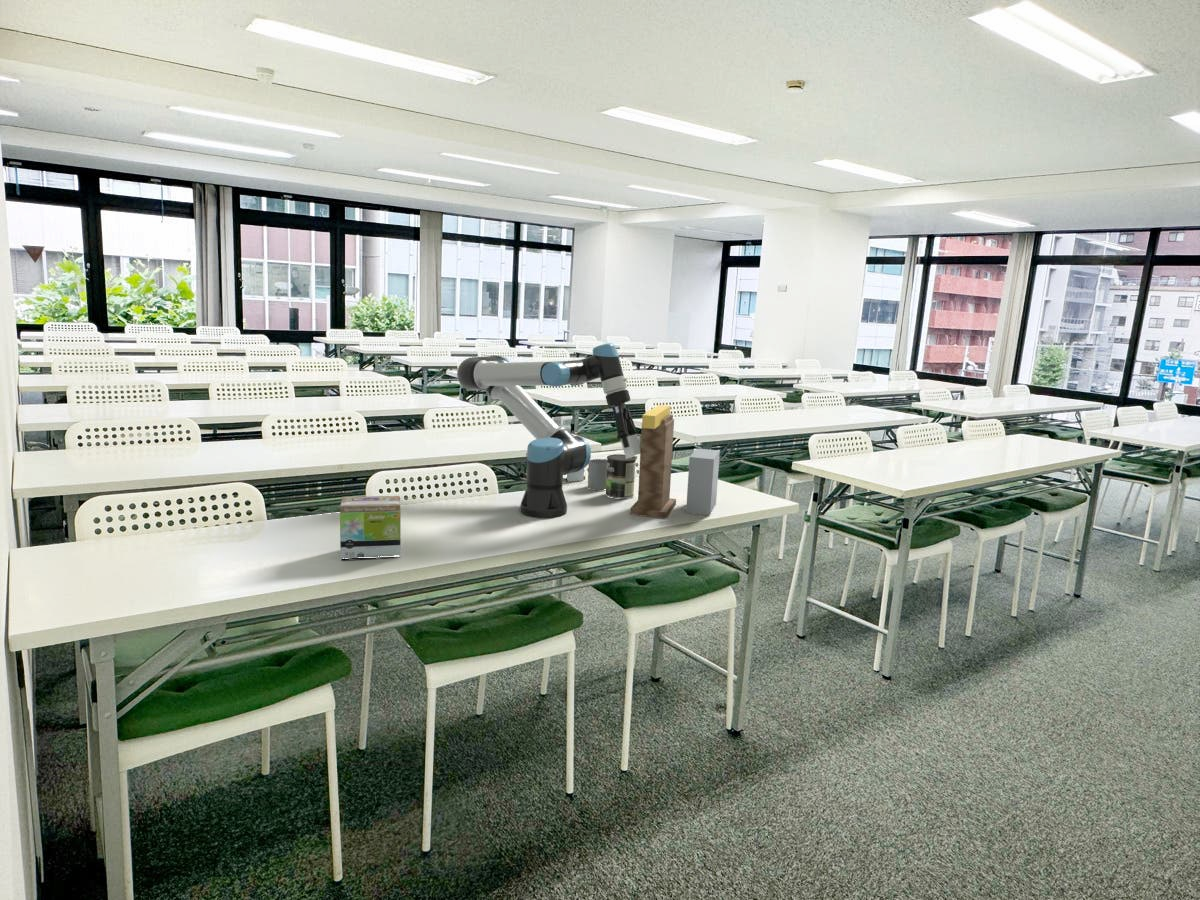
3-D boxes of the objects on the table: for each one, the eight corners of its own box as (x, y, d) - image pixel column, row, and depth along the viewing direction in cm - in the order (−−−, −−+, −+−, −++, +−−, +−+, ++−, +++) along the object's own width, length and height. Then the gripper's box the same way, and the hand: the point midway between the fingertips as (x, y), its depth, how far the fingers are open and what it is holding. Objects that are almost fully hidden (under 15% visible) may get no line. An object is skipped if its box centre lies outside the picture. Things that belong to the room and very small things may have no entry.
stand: (629, 514, 243) (634, 418, 236) (641, 500, 260) (646, 411, 253) (666, 518, 239) (671, 421, 233) (675, 504, 256) (681, 414, 250)
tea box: (340, 562, 189) (338, 506, 186) (342, 549, 199) (340, 495, 196) (401, 558, 194) (400, 503, 191) (400, 546, 203) (399, 493, 200)
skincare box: (584, 481, 286) (585, 454, 284) (569, 482, 283) (569, 455, 281) (573, 474, 295) (574, 449, 293) (558, 476, 292) (559, 449, 290)
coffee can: (610, 500, 259) (612, 460, 257) (601, 492, 269) (603, 454, 266) (638, 498, 262) (640, 459, 260) (628, 491, 272) (630, 453, 269)
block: (641, 427, 229) (642, 415, 228) (658, 416, 254) (658, 405, 253) (654, 428, 228) (655, 416, 227) (669, 417, 253) (670, 405, 252)
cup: (611, 485, 280) (612, 459, 278) (609, 491, 271) (610, 464, 270) (588, 484, 280) (589, 458, 278) (586, 489, 272) (587, 463, 270)
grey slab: (685, 512, 247) (689, 457, 243) (693, 501, 262) (696, 448, 258) (710, 515, 245) (714, 459, 241) (716, 503, 260) (719, 450, 256)
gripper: (619, 388, 224) (638, 455, 224) (634, 388, 248) (651, 450, 248) (596, 395, 225) (615, 462, 225) (612, 395, 250) (629, 455, 250)
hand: (634, 456), depth 237 cm, fingers open, 13 cm apart
